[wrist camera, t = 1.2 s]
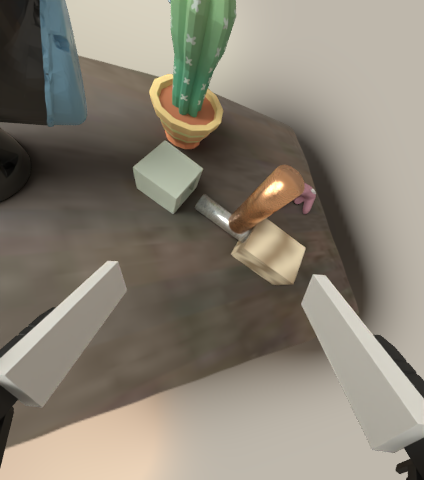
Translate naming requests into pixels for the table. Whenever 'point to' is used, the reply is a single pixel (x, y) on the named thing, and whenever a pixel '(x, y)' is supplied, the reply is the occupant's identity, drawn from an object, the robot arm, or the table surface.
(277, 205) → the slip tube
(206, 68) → the potted cactus
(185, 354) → the table surface
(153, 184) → the socket block
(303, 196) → the video game controller
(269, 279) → the block
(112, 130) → the table surface
